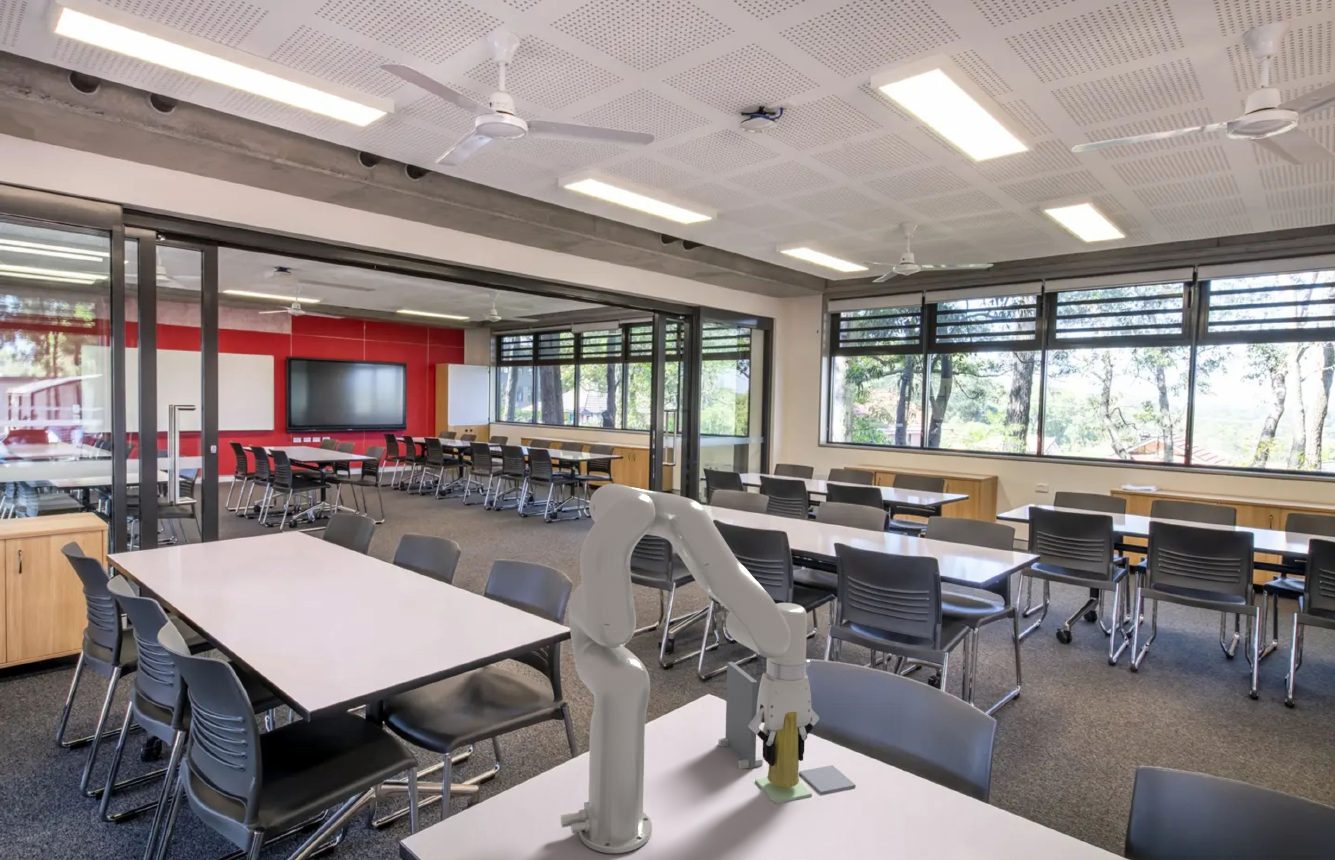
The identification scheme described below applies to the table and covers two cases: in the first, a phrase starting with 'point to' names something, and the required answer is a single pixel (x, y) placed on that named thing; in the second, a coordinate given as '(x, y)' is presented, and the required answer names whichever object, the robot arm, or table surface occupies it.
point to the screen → (741, 716)
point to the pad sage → (783, 791)
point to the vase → (786, 754)
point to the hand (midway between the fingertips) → (783, 758)
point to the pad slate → (827, 779)
